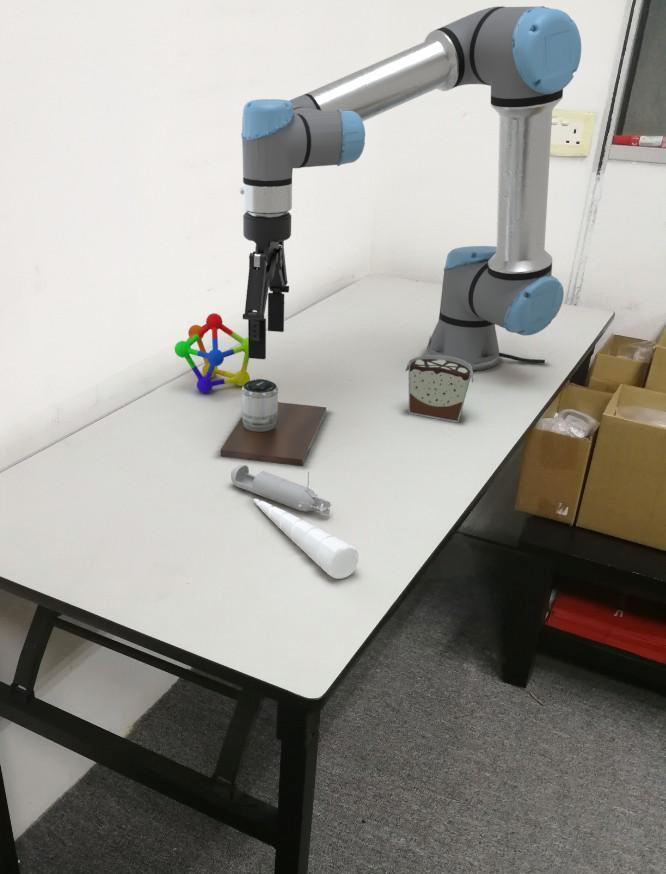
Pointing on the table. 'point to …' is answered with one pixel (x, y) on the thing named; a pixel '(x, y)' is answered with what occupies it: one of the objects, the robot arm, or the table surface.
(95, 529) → the table surface
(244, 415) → the camera lens
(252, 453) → the walnut board
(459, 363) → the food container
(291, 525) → the unicorn horn
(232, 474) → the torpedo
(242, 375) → the educational toy
